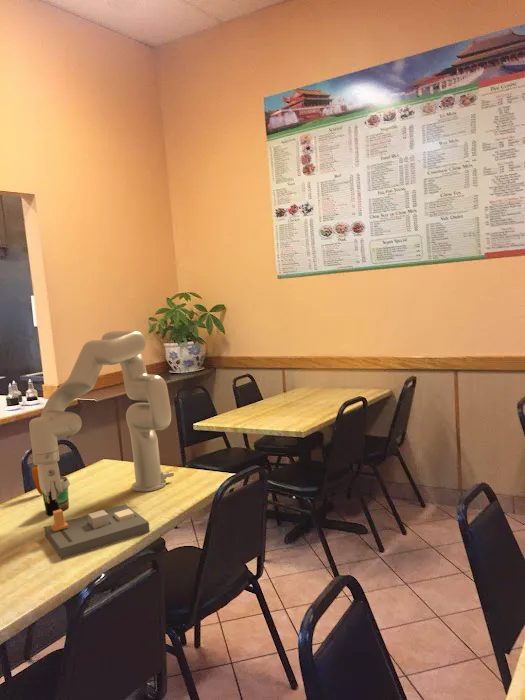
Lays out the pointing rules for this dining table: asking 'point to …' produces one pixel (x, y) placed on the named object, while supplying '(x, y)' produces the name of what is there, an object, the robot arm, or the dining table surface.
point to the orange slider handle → (58, 521)
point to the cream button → (124, 515)
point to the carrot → (36, 478)
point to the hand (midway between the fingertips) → (52, 514)
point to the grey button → (98, 519)
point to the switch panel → (94, 533)
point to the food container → (61, 495)
